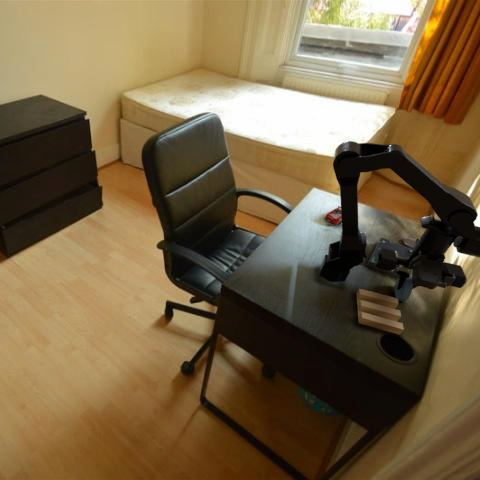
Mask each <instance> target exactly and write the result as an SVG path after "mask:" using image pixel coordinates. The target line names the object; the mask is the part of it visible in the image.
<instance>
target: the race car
mask: <svg viewBox="0 0 480 480" xmlns="http://www.w3.org/2000/svg"><path fill="white" fill-rule="evenodd" d="M324 220H325V221H326V222H328V223H330V224H331V225H333V226H334V225H336V226H338V225H339V226H340V225H342V218H341V206H339V205H338V206H337V207H336V208H334V209H333V210H330V211H329V212H327V214H325V217H324Z"/></svg>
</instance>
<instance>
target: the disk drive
mask: <svg viewBox="0 0 480 480" xmlns="http://www.w3.org/2000/svg"><path fill="white" fill-rule="evenodd" d="M378 248H385V249H389V250H393V251H395V253H396V257H401V258H406V259H407V257H408V256H407V253H408V252H409V251H412V250H413V249H411V248H409V247H407V246H406V245H403V244H400V243H397V242H391V241H390V239H387V238H384V237H380V238H379V240H378V242H377V243H376V246H375V248H374V251H373V252H372V255H371V256H370V258H369V260H368V262H367V264H366V268H371V269H375V270H378V271H380V272H383V273H385V274H387V275H390V276H392V277H394V278H397V274H396V273H395V269H394V270H391V271H387V270H383V269H379V268H377V267H376V266H375V260H374V252H375V251H376V249H378ZM411 272H412V269H411V270H410V271H409V275H410V274H411Z"/></svg>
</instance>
